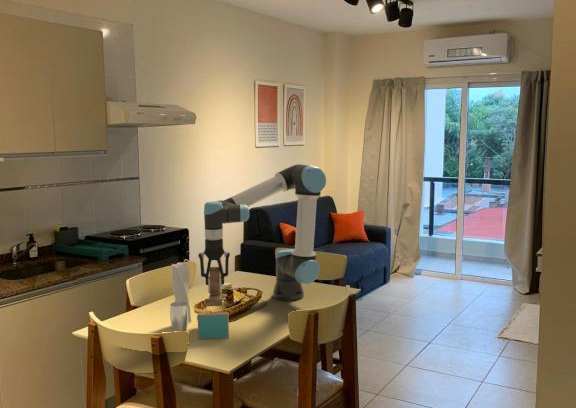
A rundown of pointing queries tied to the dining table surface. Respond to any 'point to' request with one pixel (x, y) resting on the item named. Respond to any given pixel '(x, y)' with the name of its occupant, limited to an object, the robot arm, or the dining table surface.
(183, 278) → the skyscraper
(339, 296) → the dining table surface
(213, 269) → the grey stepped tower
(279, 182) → the robot arm
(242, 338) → the dining table surface
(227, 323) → the tile
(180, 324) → the beer glass
